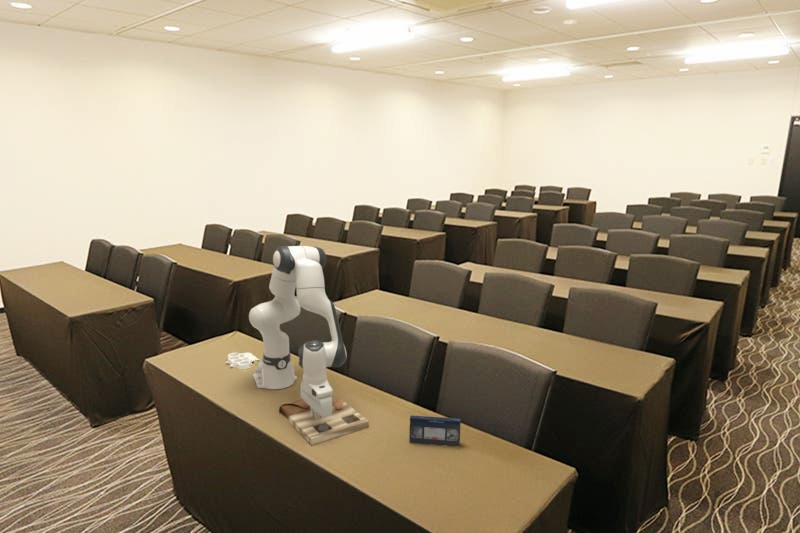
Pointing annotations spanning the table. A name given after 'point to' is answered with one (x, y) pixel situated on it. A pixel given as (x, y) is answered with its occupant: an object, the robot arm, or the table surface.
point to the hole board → (337, 422)
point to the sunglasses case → (294, 408)
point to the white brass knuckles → (241, 360)
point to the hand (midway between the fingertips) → (315, 417)
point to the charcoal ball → (323, 428)
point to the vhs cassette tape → (434, 430)
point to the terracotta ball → (338, 404)
